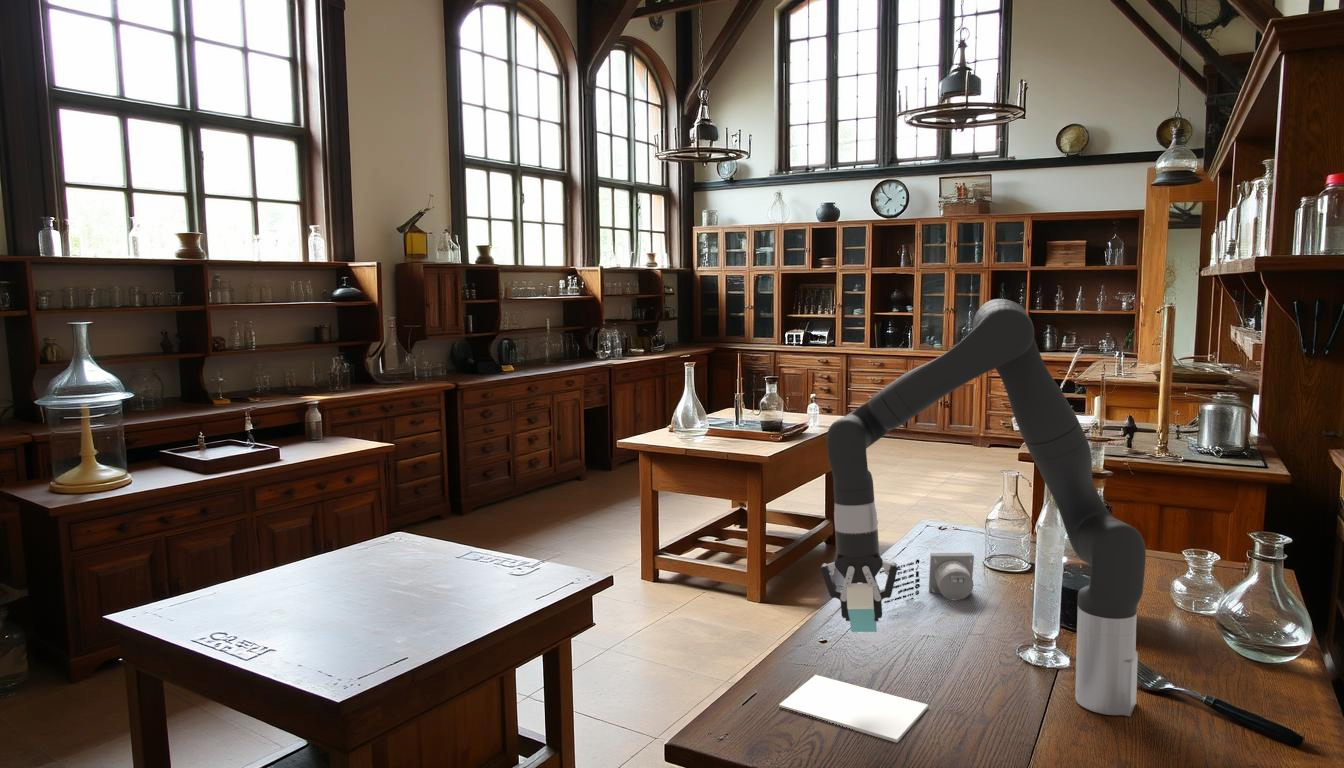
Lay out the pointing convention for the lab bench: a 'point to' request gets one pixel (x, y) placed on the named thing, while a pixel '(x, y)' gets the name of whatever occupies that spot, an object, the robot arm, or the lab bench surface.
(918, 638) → the lab bench surface
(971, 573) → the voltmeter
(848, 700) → the white board
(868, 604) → the teal block
